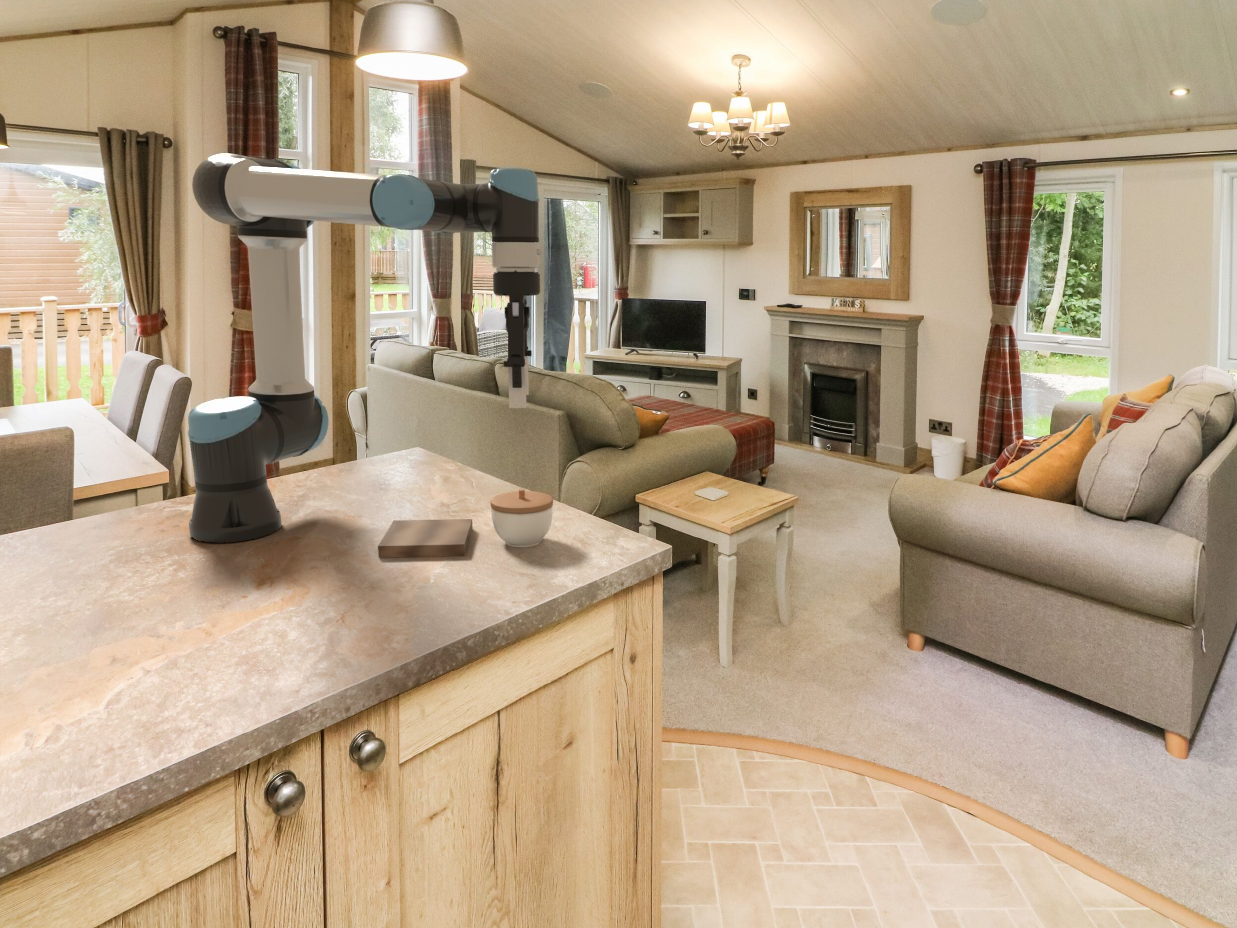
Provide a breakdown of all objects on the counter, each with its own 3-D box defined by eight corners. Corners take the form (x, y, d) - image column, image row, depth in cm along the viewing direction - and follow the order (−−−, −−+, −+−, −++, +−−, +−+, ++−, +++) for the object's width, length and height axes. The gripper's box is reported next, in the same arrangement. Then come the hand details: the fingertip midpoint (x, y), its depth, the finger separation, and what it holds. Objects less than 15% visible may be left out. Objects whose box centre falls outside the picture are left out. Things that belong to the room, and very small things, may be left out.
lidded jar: (543, 554, 139) (542, 500, 137) (482, 549, 141) (480, 496, 139) (560, 534, 149) (560, 483, 147) (503, 530, 151) (502, 480, 149)
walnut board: (378, 557, 137) (377, 546, 136) (394, 530, 150) (393, 520, 150) (464, 555, 138) (464, 544, 137) (472, 529, 151) (472, 518, 151)
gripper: (538, 271, 122) (541, 413, 127) (540, 269, 146) (542, 389, 151) (486, 271, 122) (491, 414, 127) (497, 269, 146) (501, 390, 151)
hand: (519, 401), depth 139 cm, fingers open, 13 cm apart
